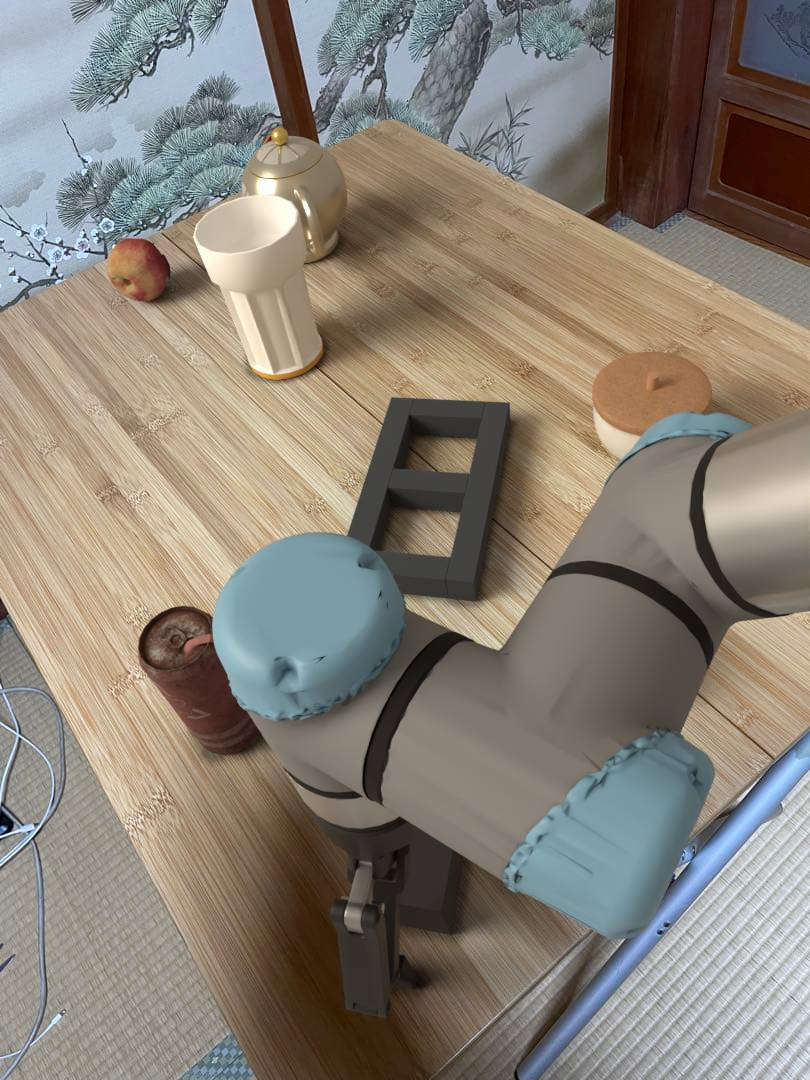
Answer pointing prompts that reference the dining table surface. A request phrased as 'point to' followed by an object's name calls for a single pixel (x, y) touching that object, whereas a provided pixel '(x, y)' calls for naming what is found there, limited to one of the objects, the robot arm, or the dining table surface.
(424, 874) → the dark grey cube
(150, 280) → the fruit
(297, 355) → the cup
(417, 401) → the base frame
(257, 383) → the dining table surface
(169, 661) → the can
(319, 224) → the teapot
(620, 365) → the trinket box
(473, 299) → the dining table surface
